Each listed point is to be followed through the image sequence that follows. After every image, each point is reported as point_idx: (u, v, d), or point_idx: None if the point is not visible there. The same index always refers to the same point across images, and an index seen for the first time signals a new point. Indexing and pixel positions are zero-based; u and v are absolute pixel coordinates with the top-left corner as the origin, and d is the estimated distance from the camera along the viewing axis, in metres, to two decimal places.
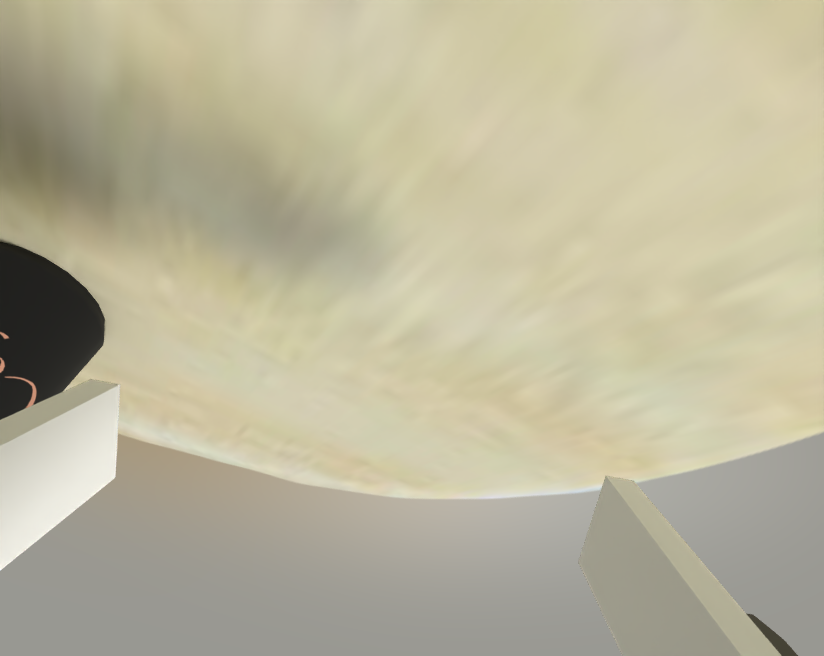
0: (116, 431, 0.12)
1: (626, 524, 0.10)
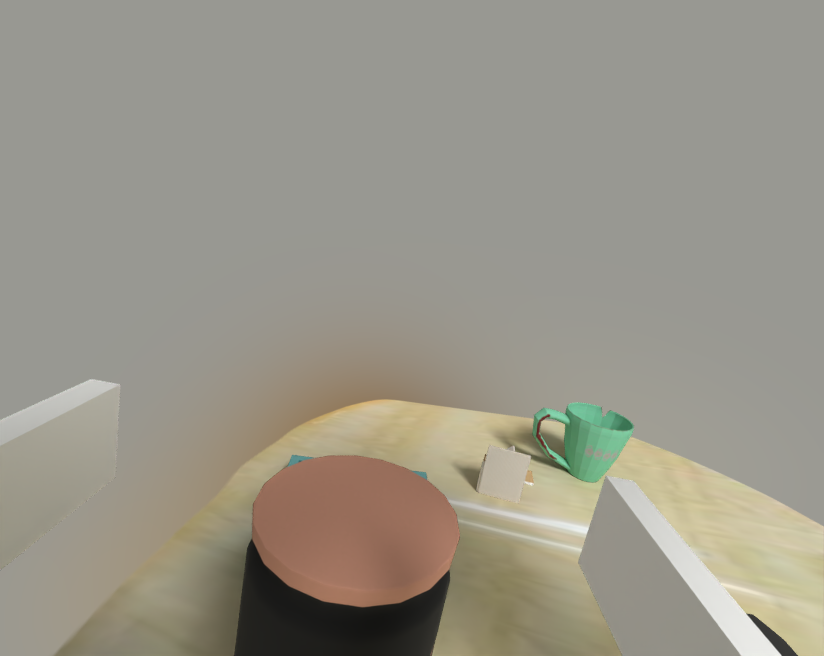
0: (115, 430, 0.12)
1: (627, 524, 0.10)
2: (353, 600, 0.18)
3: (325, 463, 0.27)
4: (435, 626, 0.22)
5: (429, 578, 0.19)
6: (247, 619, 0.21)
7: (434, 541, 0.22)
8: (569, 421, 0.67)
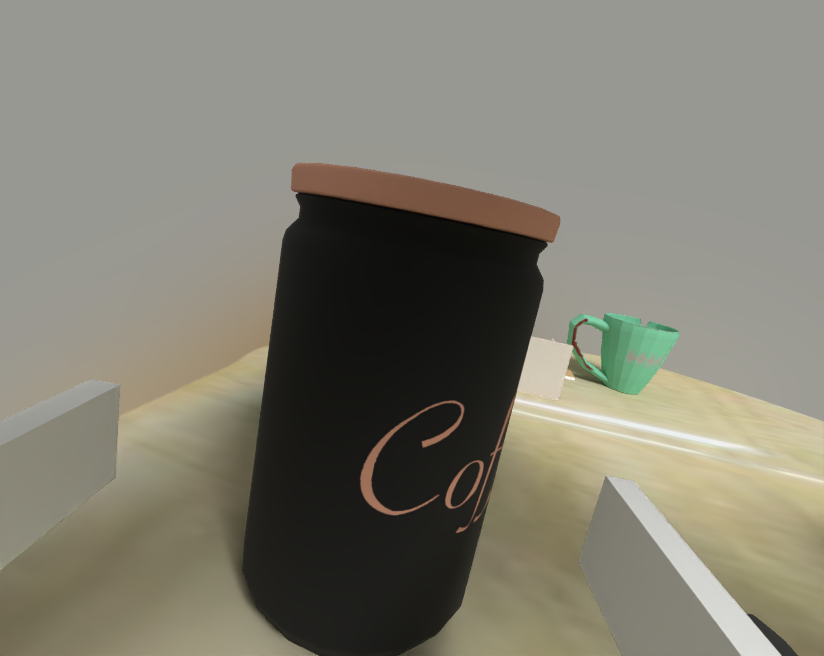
0: (116, 430, 0.12)
1: (627, 524, 0.10)
2: (443, 204, 0.13)
3: None
4: (532, 324, 0.16)
5: (539, 211, 0.14)
6: (285, 299, 0.16)
7: None
8: (608, 326, 0.62)
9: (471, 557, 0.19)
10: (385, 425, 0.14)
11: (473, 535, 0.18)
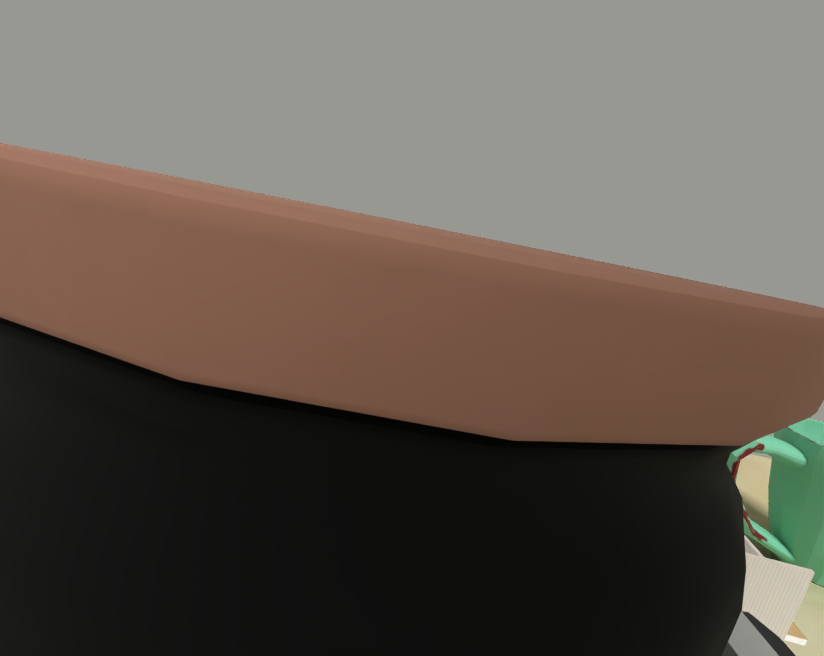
0: None
1: None
2: (443, 368, 0.02)
3: None
4: None
5: None
6: None
7: None
8: (806, 459, 0.30)
9: None
10: None
11: None
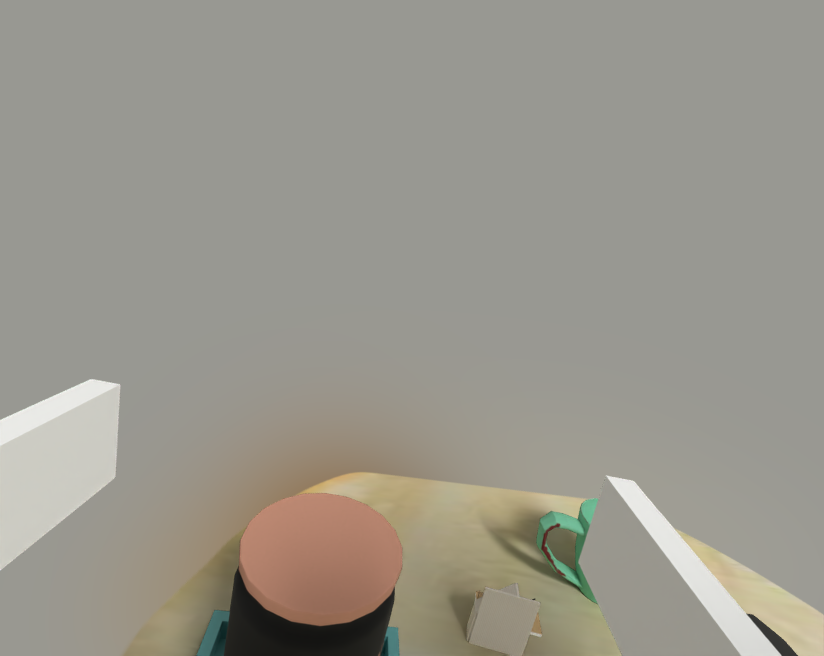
0: (116, 431, 0.12)
1: (627, 524, 0.10)
2: (313, 621, 0.24)
3: (299, 501, 0.33)
4: (380, 636, 0.28)
5: (373, 603, 0.26)
6: (234, 630, 0.27)
7: (380, 572, 0.28)
8: (584, 532, 0.53)
9: None
10: None
11: None
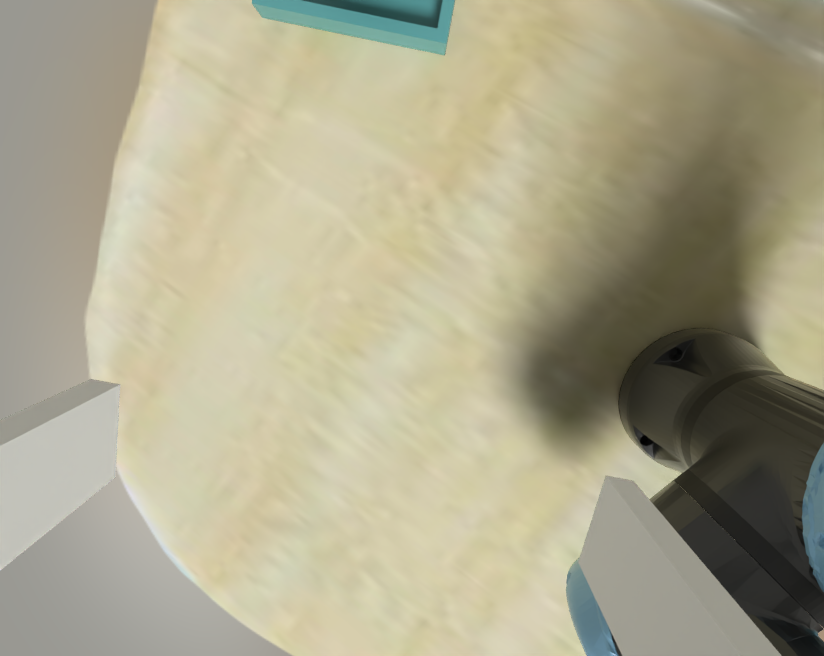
0: (115, 430, 0.12)
1: (627, 524, 0.10)
2: None
3: None
4: None
5: None
6: None
7: None
8: None
9: None
10: None
11: None
